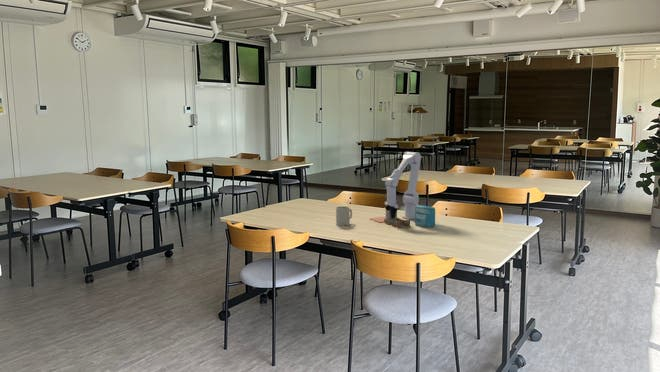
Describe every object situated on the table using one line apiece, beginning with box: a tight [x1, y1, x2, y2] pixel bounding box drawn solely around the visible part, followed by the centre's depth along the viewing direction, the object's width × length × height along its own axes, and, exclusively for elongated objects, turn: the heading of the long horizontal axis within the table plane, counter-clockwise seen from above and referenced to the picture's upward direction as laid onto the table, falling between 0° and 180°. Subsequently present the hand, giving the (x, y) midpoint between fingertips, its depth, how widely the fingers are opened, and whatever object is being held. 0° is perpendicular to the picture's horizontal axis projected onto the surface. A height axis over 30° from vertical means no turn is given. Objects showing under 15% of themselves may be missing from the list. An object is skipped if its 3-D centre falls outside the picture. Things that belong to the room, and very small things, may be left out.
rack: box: [383, 217, 411, 228], centre depth 328 cm, size 10×16×4 cm, turn 22°
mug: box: [335, 205, 353, 227], centre depth 331 cm, size 12×8×11 cm
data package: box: [414, 205, 436, 228], centre depth 323 cm, size 12×4×12 cm, turn 49°
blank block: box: [385, 209, 398, 223], centre depth 335 cm, size 6×4×7 cm, turn 112°
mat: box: [369, 216, 386, 224], centre depth 343 cm, size 16×13×1 cm
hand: (391, 217), depth 335 cm, fingers closed on blank block, 4 cm apart
